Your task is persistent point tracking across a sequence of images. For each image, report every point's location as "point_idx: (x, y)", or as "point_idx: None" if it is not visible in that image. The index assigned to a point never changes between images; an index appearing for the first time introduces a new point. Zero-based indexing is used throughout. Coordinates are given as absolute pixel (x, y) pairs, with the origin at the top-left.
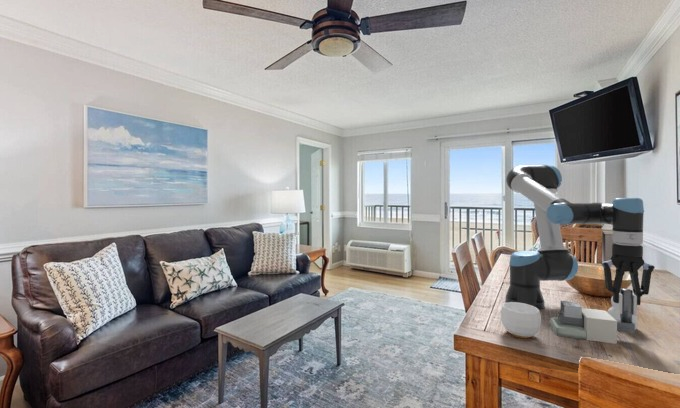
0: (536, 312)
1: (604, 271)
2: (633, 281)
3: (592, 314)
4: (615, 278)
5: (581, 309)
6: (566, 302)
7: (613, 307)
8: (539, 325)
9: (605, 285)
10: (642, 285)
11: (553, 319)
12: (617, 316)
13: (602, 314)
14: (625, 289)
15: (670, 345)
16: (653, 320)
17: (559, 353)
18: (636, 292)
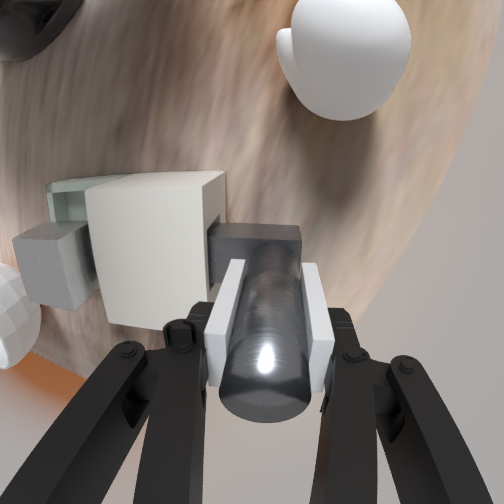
0: (8, 362)
1: (24, 477)
2: (316, 486)
3: (128, 279)
4: (147, 463)
5: (80, 305)
6: (27, 259)
7: (293, 55)
8: (32, 341)
9: (102, 363)
10: (399, 434)
11: (52, 208)
12: (300, 93)
13: (170, 264)
14: (258, 394)
15: (403, 235)
16: (454, 3)
17: (94, 365)
18: (322, 413)
